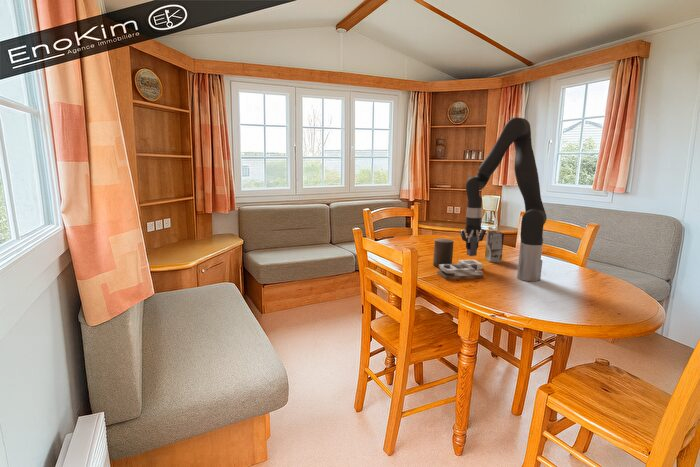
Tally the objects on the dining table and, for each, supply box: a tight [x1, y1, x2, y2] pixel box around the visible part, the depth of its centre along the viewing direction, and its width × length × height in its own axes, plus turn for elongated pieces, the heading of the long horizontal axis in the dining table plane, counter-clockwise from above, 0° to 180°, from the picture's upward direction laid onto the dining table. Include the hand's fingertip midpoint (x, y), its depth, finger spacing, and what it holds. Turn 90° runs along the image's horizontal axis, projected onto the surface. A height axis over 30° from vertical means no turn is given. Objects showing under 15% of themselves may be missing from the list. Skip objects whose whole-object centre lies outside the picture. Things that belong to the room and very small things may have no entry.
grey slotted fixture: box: [436, 263, 484, 281], centre depth 180 cm, size 19×10×6 cm, turn 100°
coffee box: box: [484, 230, 505, 263], centre depth 206 cm, size 9×6×16 cm
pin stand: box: [457, 259, 483, 270], centre depth 194 cm, size 9×9×2 cm
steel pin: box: [466, 236, 478, 257], centre depth 192 cm, size 4×4×10 cm
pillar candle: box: [432, 238, 455, 268], centre depth 195 cm, size 10×10×15 cm
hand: (471, 248), depth 193 cm, fingers closed on steel pin, 3 cm apart
